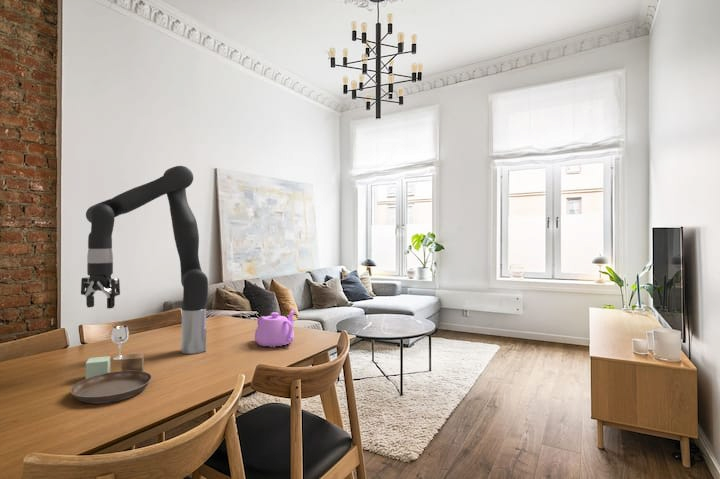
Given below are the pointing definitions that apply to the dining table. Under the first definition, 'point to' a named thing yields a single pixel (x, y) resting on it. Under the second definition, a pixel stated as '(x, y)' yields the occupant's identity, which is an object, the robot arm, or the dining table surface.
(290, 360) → the dining table surface
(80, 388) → the plant saucer
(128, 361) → the walnut block
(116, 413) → the dining table surface
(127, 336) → the wineglass
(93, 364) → the green block
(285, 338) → the teapot
